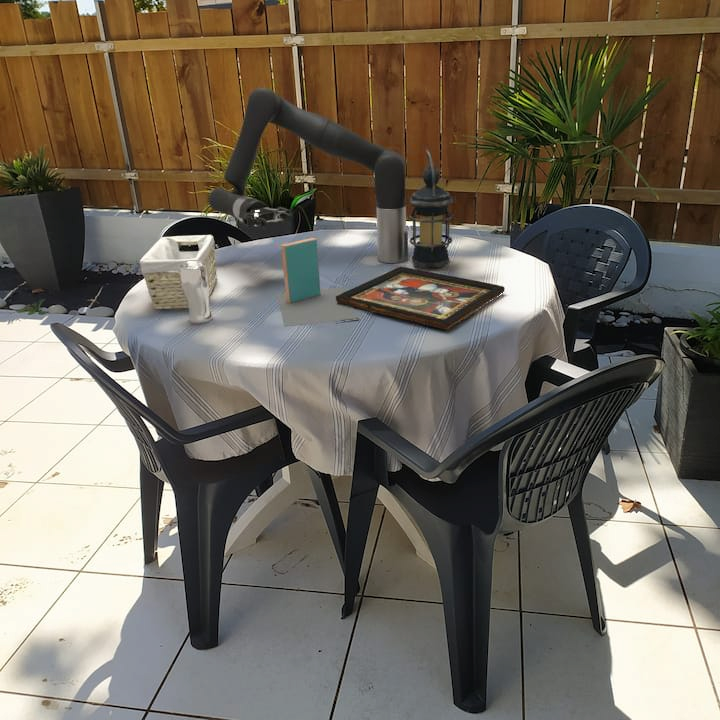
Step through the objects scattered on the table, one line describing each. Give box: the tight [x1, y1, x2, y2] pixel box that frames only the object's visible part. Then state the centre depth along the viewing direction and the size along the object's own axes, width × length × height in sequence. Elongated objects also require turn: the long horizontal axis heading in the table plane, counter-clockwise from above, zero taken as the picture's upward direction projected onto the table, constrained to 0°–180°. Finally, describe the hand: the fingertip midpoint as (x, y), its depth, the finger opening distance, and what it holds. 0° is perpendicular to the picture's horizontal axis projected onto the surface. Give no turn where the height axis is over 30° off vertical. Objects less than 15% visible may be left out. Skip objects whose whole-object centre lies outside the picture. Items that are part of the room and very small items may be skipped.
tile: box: [280, 237, 321, 303], centre depth 178 cm, size 2×10×16 cm, turn 126°
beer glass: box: [179, 261, 214, 325], centre depth 169 cm, size 7×7×15 cm
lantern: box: [408, 149, 454, 269], centre depth 197 cm, size 14×13×35 cm
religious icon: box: [336, 266, 505, 330], centre depth 178 cm, size 38×35×3 cm
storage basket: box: [139, 234, 219, 310], centre depth 186 cm, size 24×16×15 cm
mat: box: [276, 287, 360, 327], centre depth 176 cm, size 19×24×1 cm
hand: (277, 221), depth 181 cm, fingers open, 7 cm apart
